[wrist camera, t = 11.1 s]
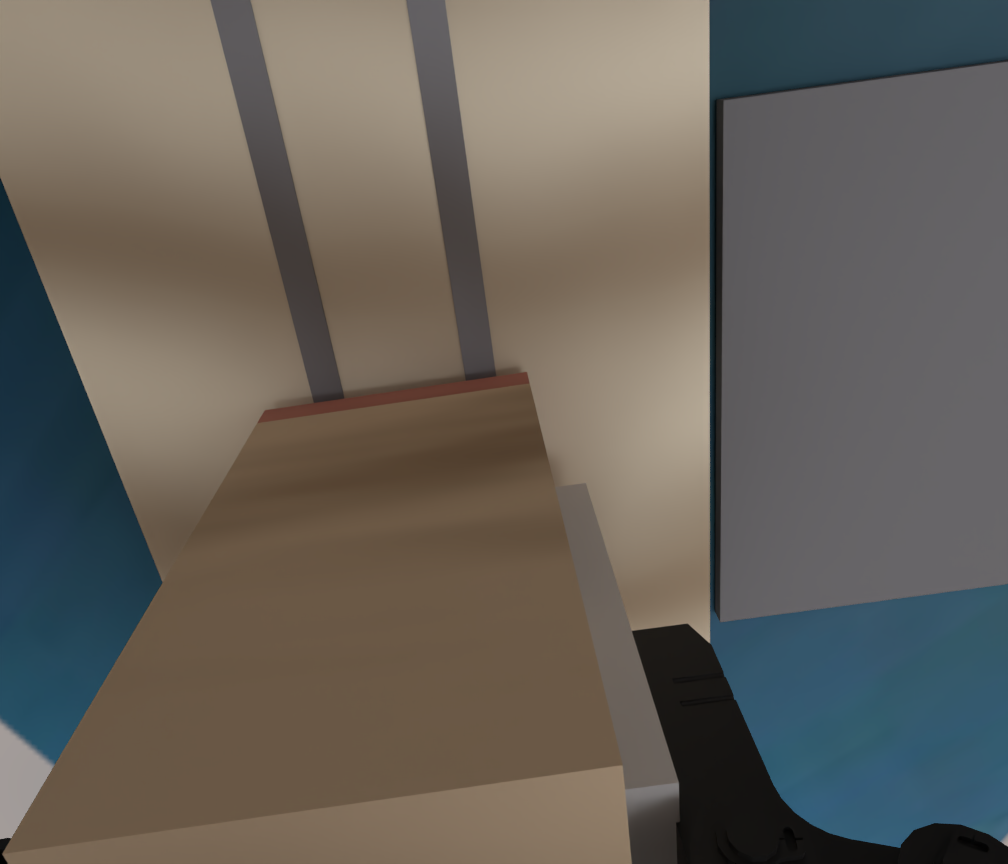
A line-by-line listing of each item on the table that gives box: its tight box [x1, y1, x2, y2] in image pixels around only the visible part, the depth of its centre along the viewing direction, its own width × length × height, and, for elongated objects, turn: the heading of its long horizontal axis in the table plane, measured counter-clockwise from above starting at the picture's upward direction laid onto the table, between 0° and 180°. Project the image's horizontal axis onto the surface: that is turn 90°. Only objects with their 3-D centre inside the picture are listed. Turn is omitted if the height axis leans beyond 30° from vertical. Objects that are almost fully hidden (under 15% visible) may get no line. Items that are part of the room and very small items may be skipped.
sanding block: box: [2, 372, 632, 864], centre depth 12 cm, size 7×5×9 cm
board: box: [0, 0, 710, 643], centre depth 14 cm, size 22×12×1 cm, turn 7°
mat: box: [715, 60, 1008, 622], centre depth 16 cm, size 12×9×1 cm
